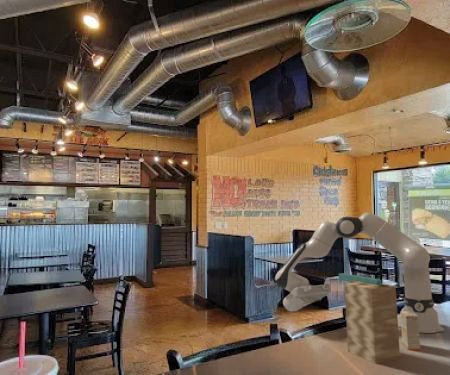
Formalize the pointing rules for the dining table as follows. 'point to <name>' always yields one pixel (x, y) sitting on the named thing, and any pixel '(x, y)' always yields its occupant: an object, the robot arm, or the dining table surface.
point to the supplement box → (410, 330)
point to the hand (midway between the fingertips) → (320, 285)
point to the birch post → (372, 321)
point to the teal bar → (359, 279)
